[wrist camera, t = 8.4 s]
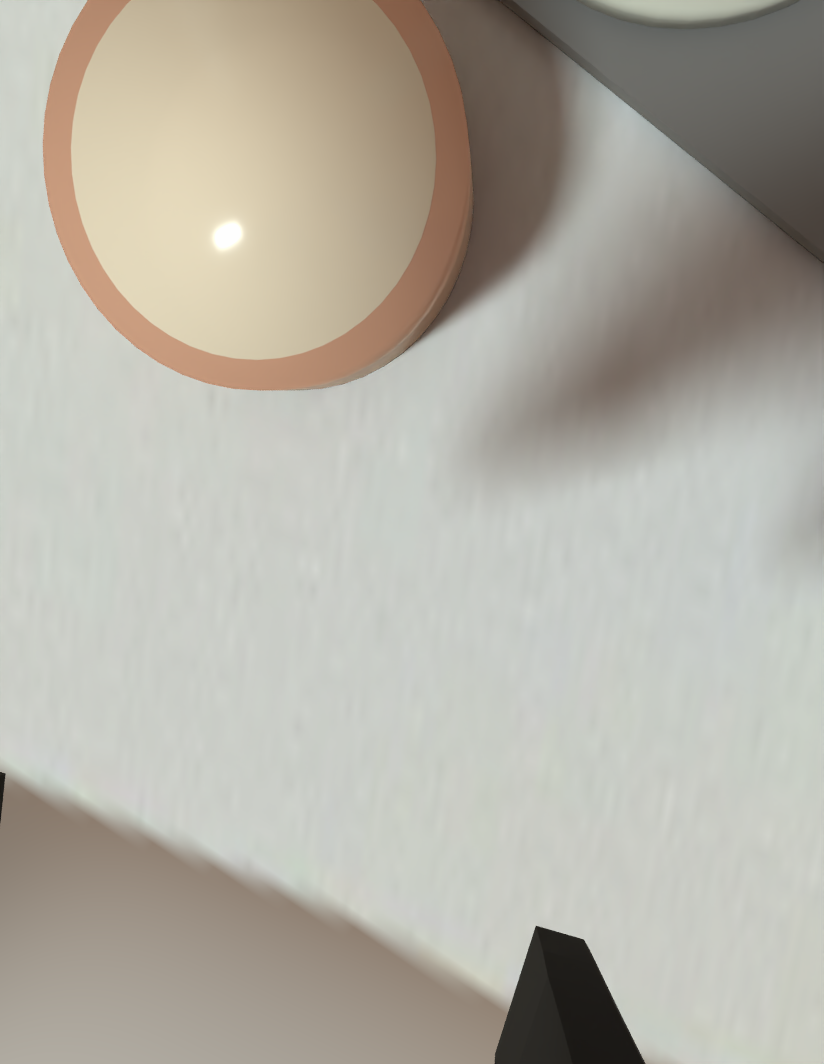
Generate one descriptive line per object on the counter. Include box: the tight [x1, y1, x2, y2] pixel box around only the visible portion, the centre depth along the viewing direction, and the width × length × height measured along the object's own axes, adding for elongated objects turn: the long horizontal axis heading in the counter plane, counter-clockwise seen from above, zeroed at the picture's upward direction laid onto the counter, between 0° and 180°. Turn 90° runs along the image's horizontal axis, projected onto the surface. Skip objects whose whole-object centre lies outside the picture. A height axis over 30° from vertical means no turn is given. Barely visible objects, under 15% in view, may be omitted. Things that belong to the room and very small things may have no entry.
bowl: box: [43, 0, 474, 390], centre depth 15 cm, size 8×8×3 cm
